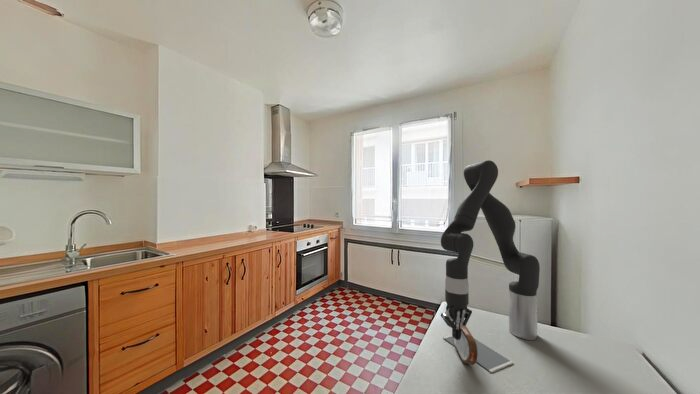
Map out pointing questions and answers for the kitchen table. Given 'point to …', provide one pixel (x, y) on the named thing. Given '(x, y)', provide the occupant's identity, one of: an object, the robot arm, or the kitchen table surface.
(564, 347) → the kitchen table surface
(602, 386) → the kitchen table surface
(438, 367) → the kitchen table surface
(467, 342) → the tin
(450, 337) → the mat
